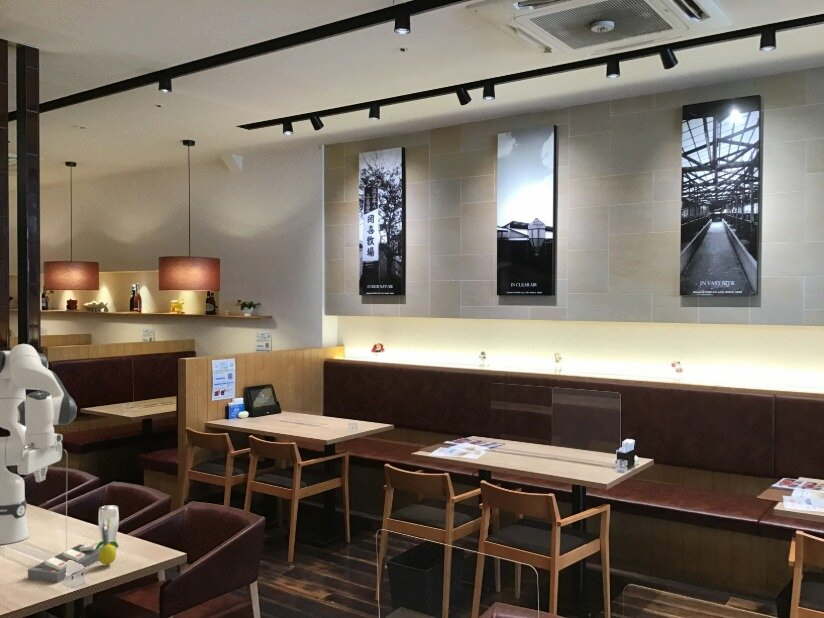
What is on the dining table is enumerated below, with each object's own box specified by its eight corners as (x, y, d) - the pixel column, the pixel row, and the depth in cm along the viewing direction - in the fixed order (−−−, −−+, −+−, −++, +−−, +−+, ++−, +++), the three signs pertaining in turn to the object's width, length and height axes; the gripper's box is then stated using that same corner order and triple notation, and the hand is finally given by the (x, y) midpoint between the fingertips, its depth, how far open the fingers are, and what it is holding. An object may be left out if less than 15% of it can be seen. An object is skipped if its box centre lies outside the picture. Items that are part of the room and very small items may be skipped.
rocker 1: (44, 564, 245) (45, 560, 245) (53, 560, 249) (53, 556, 249) (59, 570, 244) (60, 566, 244) (67, 566, 247) (68, 562, 247)
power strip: (27, 578, 245) (27, 568, 245) (79, 552, 268) (79, 543, 268) (57, 582, 241) (57, 573, 241) (107, 556, 264) (107, 547, 264)
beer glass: (111, 552, 268) (111, 511, 268) (94, 550, 270) (94, 510, 269) (123, 545, 275) (122, 505, 275) (106, 543, 277) (105, 504, 276)
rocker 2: (62, 555, 253) (63, 552, 253) (70, 552, 256) (70, 548, 256) (76, 561, 251) (77, 557, 251) (84, 557, 255) (85, 553, 255)
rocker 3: (80, 551, 261) (79, 547, 261) (87, 547, 264) (86, 544, 264) (93, 549, 259) (93, 545, 259) (100, 545, 262) (100, 542, 262)
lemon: (95, 569, 252) (94, 541, 252) (98, 563, 258) (98, 535, 258) (115, 568, 254) (115, 539, 253) (118, 561, 259) (118, 533, 259)
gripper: (30, 447, 238) (30, 490, 239) (65, 434, 258) (65, 473, 259) (11, 447, 239) (12, 489, 239) (48, 433, 259) (48, 472, 259)
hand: (40, 481), depth 249 cm, fingers closed
